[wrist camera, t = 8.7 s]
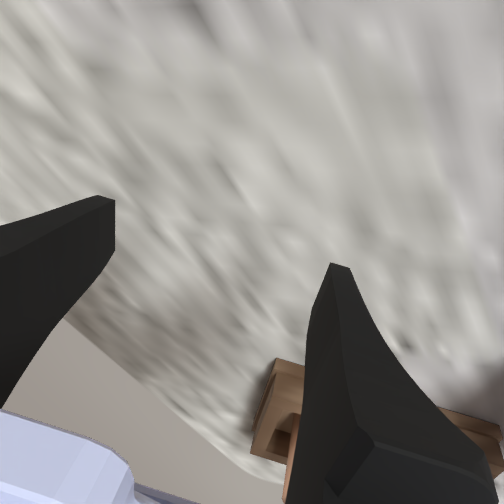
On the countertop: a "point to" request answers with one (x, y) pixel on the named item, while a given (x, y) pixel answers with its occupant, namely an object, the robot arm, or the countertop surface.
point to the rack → (290, 401)
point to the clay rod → (291, 453)
